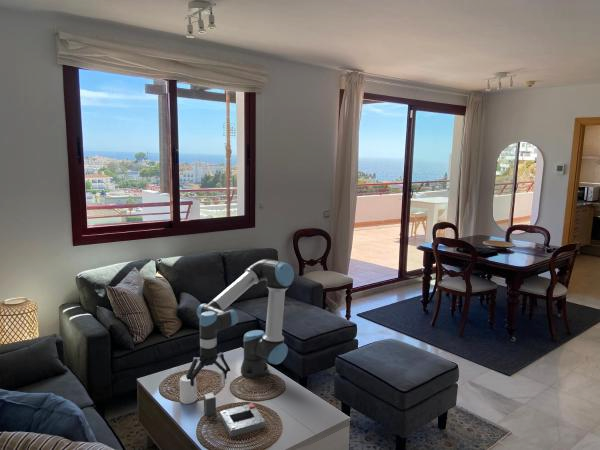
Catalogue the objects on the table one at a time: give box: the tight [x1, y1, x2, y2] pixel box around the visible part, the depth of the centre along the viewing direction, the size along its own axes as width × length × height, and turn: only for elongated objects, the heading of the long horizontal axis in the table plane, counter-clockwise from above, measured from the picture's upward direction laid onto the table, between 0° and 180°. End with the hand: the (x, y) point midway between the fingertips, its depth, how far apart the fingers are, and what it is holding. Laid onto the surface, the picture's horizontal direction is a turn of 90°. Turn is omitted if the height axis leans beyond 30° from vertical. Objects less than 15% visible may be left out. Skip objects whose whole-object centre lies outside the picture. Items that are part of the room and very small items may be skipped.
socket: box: [219, 402, 266, 438], centre depth 202 cm, size 16×16×4 cm
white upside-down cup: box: [178, 373, 198, 405], centre depth 218 cm, size 8×8×12 cm
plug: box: [203, 392, 217, 417], centre depth 209 cm, size 4×4×8 cm
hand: (208, 388), depth 207 cm, fingers open, 13 cm apart
